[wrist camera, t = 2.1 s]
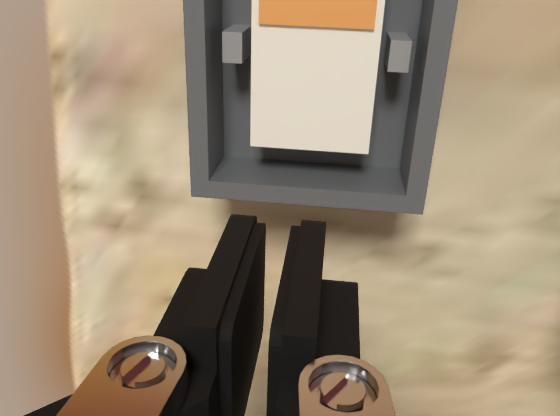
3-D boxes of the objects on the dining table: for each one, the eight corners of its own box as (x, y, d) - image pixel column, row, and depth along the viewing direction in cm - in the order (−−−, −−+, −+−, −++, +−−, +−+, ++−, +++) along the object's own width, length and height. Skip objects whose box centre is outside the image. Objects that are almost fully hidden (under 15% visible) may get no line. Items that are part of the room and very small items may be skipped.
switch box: (408, 163, 28) (422, 214, 23) (221, 150, 29) (191, 196, 24) (448, -115, 23) (480, -137, 17) (217, -121, 24) (177, -144, 18)
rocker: (367, 145, 24) (368, 155, 22) (254, 137, 24) (249, 147, 23) (389, -59, 20) (392, -60, 19) (257, -64, 21) (251, -64, 19)
